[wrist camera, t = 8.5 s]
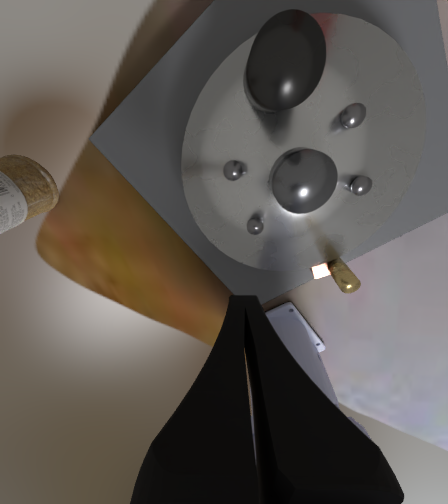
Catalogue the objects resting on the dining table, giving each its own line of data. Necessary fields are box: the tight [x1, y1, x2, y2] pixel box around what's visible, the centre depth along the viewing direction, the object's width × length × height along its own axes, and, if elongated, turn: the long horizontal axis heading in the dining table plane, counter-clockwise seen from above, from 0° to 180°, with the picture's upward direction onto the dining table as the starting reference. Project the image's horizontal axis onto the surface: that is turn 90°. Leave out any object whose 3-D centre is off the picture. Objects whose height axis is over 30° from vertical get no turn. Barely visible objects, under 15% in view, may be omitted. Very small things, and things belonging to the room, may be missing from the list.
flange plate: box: [181, 9, 426, 279], centre depth 13 cm, size 16×15×5 cm
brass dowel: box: [327, 257, 361, 293], centre depth 17 cm, size 1×1×4 cm
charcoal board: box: [89, 0, 448, 305], centre depth 16 cm, size 20×20×1 cm
